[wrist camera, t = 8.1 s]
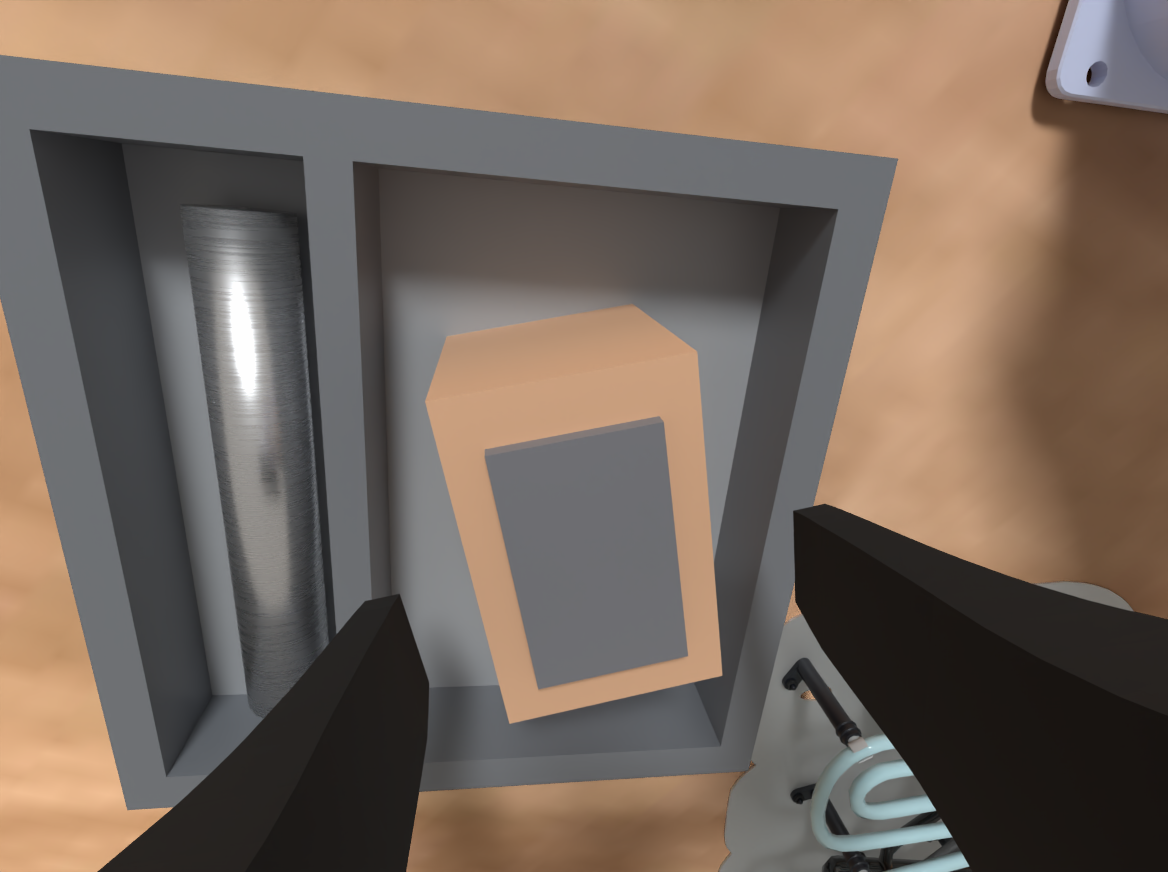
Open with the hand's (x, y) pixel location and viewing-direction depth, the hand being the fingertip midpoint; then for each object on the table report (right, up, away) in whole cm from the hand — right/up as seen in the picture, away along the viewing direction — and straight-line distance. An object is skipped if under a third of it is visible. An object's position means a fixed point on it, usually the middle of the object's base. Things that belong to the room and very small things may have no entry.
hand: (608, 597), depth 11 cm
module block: (-1, +3, +5) cm, 6 cm away
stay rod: (-8, +2, +4) cm, 9 cm away
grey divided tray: (-3, +2, +5) cm, 6 cm away
